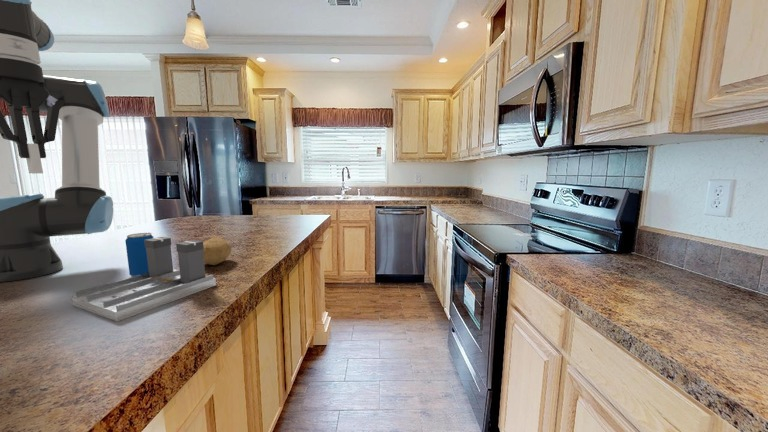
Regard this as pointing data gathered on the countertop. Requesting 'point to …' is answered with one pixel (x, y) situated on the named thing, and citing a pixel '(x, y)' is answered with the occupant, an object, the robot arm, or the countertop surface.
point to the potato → (215, 251)
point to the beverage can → (137, 253)
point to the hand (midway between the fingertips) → (36, 173)
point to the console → (138, 294)
